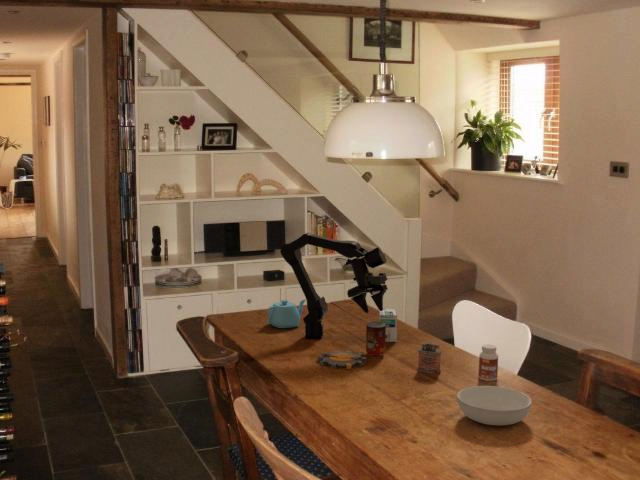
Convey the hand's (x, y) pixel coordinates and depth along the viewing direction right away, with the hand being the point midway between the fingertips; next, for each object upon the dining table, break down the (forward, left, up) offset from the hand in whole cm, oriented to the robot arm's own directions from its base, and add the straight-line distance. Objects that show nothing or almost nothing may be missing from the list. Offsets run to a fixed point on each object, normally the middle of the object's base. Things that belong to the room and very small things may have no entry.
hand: (374, 311), depth 306 cm
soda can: (0, -12, -14) cm, 18 cm away
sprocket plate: (-12, -20, -13) cm, 26 cm away
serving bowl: (+33, -72, -14) cm, 80 cm away
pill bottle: (+37, -35, -14) cm, 53 cm away
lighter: (+18, -29, -14) cm, 37 cm away
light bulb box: (+5, +11, -14) cm, 19 cm away
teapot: (-36, +28, -14) cm, 47 cm away
